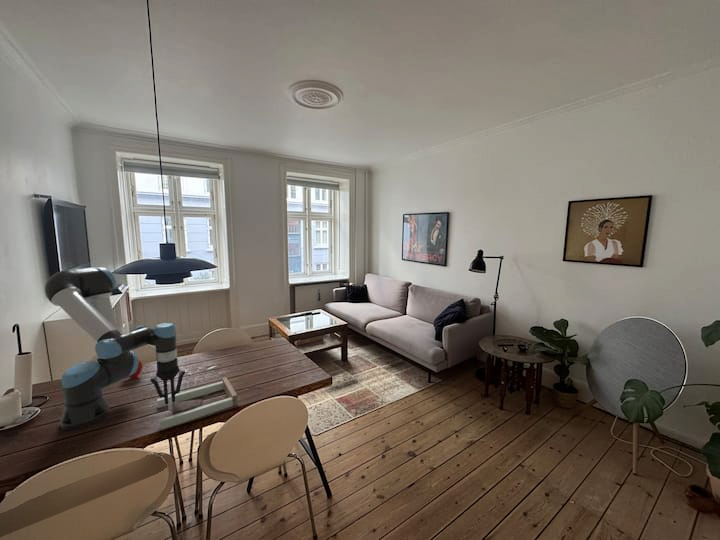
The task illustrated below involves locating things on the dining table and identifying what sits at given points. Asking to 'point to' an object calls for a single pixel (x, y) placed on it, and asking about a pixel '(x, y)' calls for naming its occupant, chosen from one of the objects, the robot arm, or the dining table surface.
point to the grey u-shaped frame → (203, 409)
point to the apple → (137, 370)
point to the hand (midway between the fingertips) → (170, 409)
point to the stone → (186, 406)
